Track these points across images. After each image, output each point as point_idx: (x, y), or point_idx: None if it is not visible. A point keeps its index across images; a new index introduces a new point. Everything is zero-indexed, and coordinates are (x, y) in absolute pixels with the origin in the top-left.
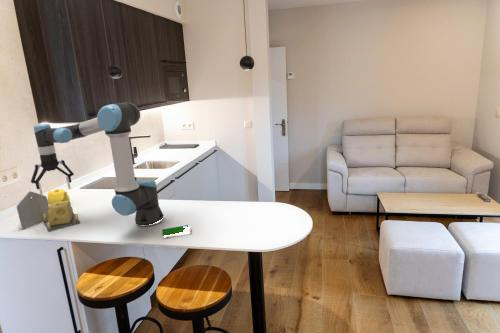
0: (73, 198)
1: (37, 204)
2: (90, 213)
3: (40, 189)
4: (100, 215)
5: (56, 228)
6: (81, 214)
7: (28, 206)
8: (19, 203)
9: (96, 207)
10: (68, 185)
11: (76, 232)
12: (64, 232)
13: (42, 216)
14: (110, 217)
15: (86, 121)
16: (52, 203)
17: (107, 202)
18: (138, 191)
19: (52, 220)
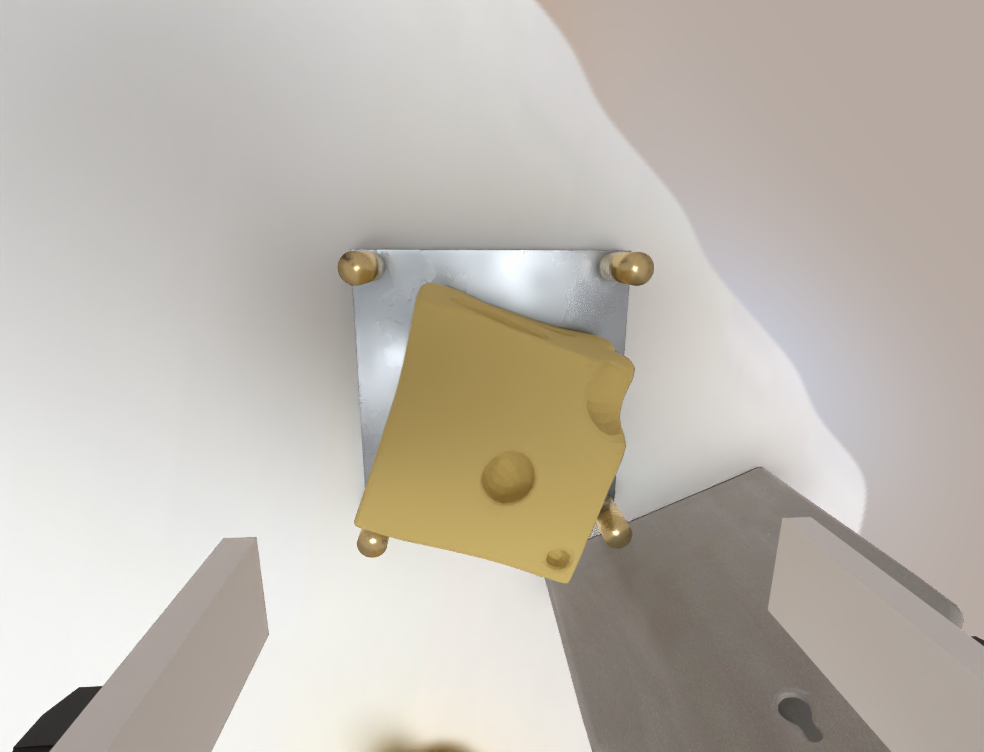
0: None
1: (692, 649)
2: (232, 441)
3: (912, 603)
4: (150, 314)
5: (560, 250)
6: (310, 475)
7: None
8: None
9: (160, 558)
10: (216, 603)
11: (424, 22)
12: (516, 122)
13: (617, 559)
14: (58, 173)
15: None
16: (551, 567)
17: (46, 618)
18: None
19: (582, 336)
